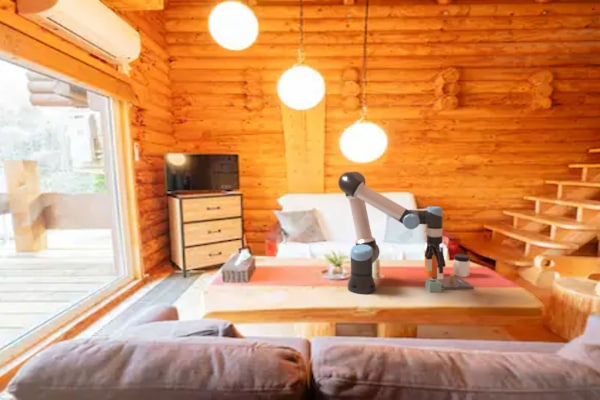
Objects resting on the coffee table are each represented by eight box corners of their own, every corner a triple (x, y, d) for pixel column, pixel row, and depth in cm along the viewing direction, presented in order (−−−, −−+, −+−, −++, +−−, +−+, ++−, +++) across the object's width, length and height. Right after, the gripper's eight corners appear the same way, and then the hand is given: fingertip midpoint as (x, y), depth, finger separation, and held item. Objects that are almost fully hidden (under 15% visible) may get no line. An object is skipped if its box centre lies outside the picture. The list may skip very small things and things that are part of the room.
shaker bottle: (436, 278, 193) (437, 245, 191) (421, 275, 198) (422, 243, 196) (440, 274, 200) (441, 242, 198) (425, 271, 206) (426, 240, 204)
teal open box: (430, 292, 172) (430, 282, 172) (425, 288, 178) (425, 278, 178) (441, 291, 172) (441, 282, 172) (436, 287, 178) (436, 278, 178)
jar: (465, 278, 193) (466, 258, 191) (451, 275, 198) (452, 256, 197) (470, 274, 199) (471, 255, 198) (457, 271, 205) (457, 253, 203)
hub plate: (444, 289, 175) (444, 279, 175) (431, 279, 191) (432, 270, 191) (473, 289, 176) (474, 279, 175) (458, 279, 192) (459, 269, 191)
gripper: (453, 240, 160) (452, 282, 162) (431, 231, 185) (431, 267, 187) (438, 241, 160) (437, 283, 162) (418, 231, 185) (418, 268, 187)
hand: (434, 274), depth 174 cm, fingers open, 13 cm apart
